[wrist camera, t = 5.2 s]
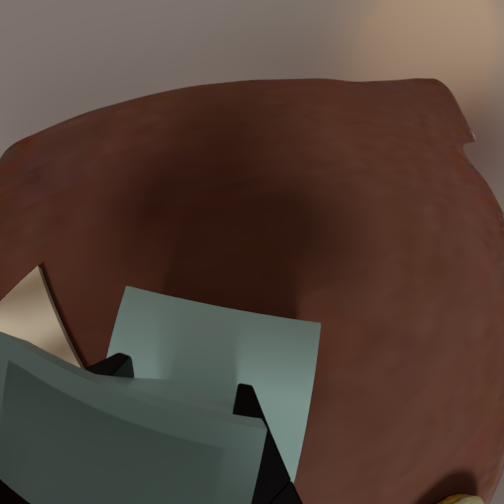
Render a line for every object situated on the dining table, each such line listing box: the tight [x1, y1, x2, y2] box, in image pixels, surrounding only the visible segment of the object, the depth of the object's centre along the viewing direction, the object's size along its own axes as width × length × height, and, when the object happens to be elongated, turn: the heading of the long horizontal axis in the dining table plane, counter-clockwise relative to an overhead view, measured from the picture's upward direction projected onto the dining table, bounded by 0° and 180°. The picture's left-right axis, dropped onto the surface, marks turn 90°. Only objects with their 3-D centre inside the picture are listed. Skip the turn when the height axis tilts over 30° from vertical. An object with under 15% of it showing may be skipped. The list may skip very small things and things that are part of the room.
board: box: [0, 266, 85, 369], centre depth 15 cm, size 14×14×1 cm
